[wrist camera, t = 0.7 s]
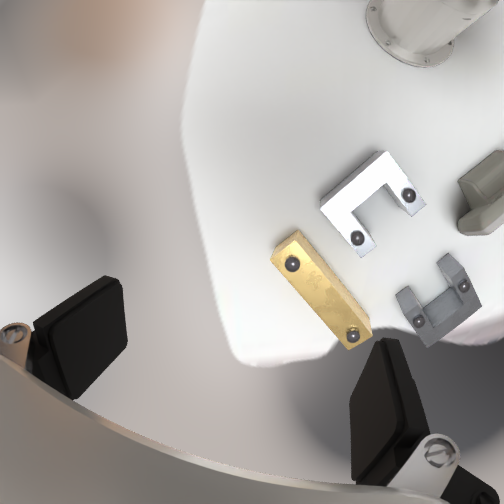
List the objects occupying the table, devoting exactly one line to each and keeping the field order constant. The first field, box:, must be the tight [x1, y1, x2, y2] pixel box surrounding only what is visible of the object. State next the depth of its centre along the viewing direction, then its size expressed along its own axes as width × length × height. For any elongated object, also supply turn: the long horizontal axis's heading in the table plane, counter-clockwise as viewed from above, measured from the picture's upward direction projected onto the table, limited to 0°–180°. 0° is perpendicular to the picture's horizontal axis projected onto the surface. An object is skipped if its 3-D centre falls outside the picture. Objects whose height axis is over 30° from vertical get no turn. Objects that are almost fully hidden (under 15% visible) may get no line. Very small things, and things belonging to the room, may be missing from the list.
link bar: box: [270, 230, 373, 350], centre depth 38 cm, size 4×17×6 cm, turn 43°
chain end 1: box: [320, 151, 426, 258], centre depth 32 cm, size 10×8×6 cm
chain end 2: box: [396, 253, 482, 348], centre depth 34 cm, size 10×8×6 cm
